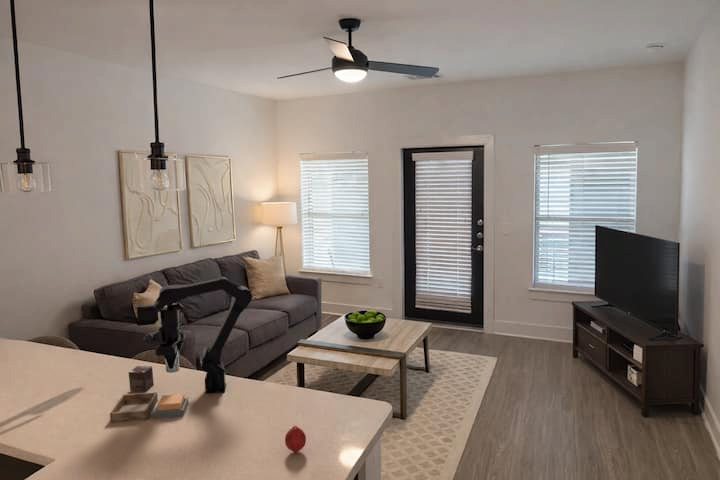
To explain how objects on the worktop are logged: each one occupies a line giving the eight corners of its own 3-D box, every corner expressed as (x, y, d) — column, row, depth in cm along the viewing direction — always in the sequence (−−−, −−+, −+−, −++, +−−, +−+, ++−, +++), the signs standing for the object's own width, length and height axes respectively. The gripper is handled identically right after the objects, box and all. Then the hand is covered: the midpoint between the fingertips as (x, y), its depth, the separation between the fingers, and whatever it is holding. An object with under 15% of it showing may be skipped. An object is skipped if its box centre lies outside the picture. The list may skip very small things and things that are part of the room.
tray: (157, 400, 176) (157, 392, 176) (147, 419, 162) (146, 410, 162) (124, 402, 174) (123, 394, 174) (110, 422, 161) (109, 413, 160)
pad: (184, 399, 172) (184, 393, 172) (180, 408, 165) (180, 402, 165) (162, 401, 171) (162, 395, 171) (158, 410, 164) (157, 404, 164)
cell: (180, 367, 180) (179, 346, 179) (178, 372, 176) (176, 351, 175) (167, 368, 180) (166, 347, 179) (164, 373, 175) (163, 351, 174)
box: (154, 385, 189) (152, 366, 188) (145, 392, 183) (144, 372, 182) (138, 384, 189) (137, 365, 188) (129, 391, 183) (128, 372, 182)
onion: (286, 447, 145) (285, 420, 144) (306, 445, 145) (305, 419, 144) (284, 458, 139) (283, 430, 138) (306, 457, 140) (305, 429, 139)
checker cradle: (188, 403, 173) (188, 397, 173) (183, 415, 164) (183, 409, 164) (160, 405, 172) (160, 400, 172) (154, 418, 163) (154, 412, 163)
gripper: (152, 316, 184) (155, 357, 186) (137, 332, 165) (140, 378, 167) (184, 314, 185) (187, 355, 187) (173, 330, 167) (176, 376, 169)
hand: (172, 366), depth 178 cm, fingers closed on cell, 4 cm apart
